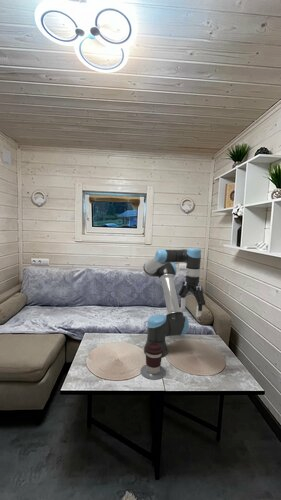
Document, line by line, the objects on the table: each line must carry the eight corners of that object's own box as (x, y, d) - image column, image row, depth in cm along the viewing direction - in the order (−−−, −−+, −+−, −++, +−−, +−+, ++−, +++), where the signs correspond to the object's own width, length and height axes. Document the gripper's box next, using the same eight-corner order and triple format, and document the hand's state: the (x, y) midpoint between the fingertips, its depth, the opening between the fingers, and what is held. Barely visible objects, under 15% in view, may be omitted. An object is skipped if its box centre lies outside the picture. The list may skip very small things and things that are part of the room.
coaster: (136, 368, 142) (136, 367, 142) (156, 362, 149) (156, 361, 149) (148, 382, 130) (148, 381, 130) (170, 375, 136) (170, 374, 136)
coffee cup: (154, 378, 132) (155, 351, 131) (140, 370, 139) (141, 345, 137) (165, 370, 140) (166, 345, 138) (151, 363, 146) (152, 339, 145)
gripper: (173, 271, 149) (172, 306, 151) (203, 281, 127) (200, 321, 130) (183, 271, 153) (182, 304, 155) (213, 279, 131) (211, 318, 133)
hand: (190, 312), depth 142 cm, fingers open, 13 cm apart
